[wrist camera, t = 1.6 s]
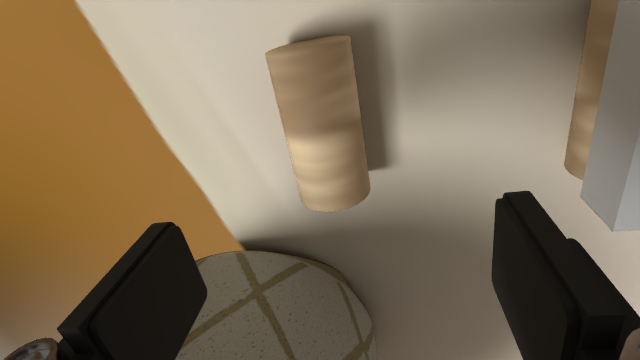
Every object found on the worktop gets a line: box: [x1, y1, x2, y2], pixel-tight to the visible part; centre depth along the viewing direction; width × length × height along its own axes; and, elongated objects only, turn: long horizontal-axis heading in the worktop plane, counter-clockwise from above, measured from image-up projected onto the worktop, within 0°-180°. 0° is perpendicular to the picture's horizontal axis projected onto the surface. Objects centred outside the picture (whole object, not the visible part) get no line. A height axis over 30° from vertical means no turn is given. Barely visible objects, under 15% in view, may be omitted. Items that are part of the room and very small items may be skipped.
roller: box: [265, 35, 370, 212], centre depth 18 cm, size 8×4×4 cm
